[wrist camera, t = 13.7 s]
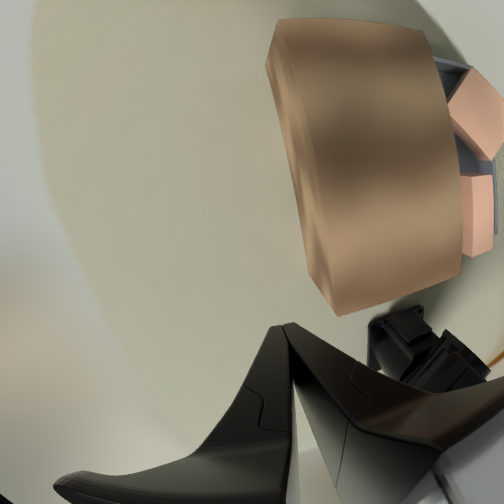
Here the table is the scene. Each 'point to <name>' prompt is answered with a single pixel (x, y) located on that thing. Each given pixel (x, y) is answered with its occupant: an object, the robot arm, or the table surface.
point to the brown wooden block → (368, 158)
